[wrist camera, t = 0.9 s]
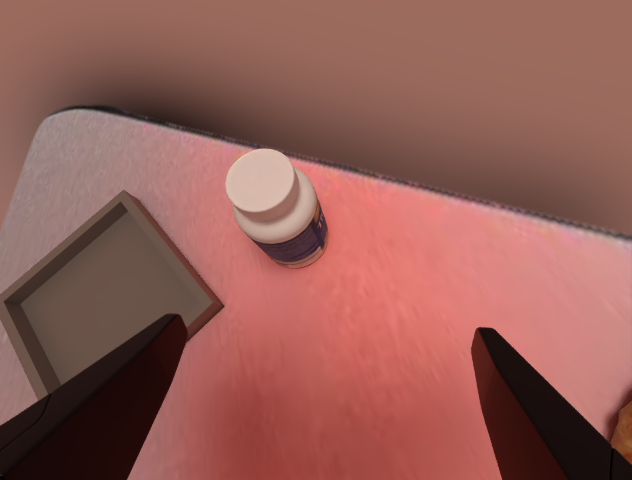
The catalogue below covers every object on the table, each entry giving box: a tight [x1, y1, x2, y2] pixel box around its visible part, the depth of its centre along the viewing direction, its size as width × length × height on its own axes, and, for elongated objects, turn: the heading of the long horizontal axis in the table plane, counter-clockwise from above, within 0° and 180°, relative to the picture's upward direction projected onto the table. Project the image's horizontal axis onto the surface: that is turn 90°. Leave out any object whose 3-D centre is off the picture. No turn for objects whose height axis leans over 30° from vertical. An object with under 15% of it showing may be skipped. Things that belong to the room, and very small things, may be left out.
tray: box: [0, 190, 224, 401], centre depth 27 cm, size 14×14×2 cm
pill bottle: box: [225, 149, 328, 268], centre depth 22 cm, size 5×5×10 cm
